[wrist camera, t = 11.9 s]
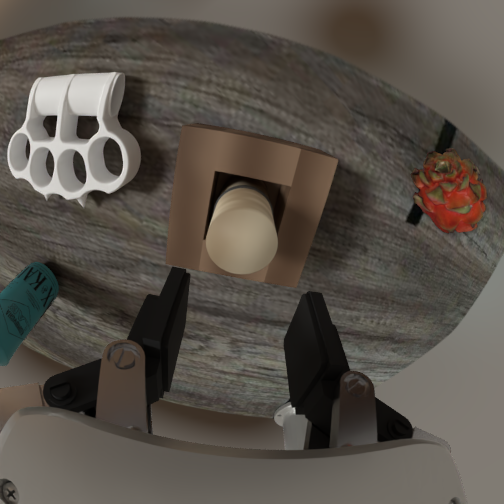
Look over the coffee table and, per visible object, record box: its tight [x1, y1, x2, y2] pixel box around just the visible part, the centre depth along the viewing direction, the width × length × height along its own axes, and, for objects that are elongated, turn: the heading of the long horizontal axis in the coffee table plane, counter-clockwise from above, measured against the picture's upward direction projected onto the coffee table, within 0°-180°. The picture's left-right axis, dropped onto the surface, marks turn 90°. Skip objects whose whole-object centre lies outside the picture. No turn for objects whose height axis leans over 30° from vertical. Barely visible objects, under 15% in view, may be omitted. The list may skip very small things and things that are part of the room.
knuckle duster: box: [8, 72, 141, 208], centre depth 22 cm, size 3×18×15 cm
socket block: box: [166, 123, 338, 288], centre depth 24 cm, size 12×12×6 cm
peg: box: [206, 175, 278, 274], centre depth 21 cm, size 5×5×10 cm
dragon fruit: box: [411, 148, 487, 233], centre depth 23 cm, size 8×8×12 cm
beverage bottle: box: [0, 262, 59, 366], centre depth 22 cm, size 6×7×20 cm
